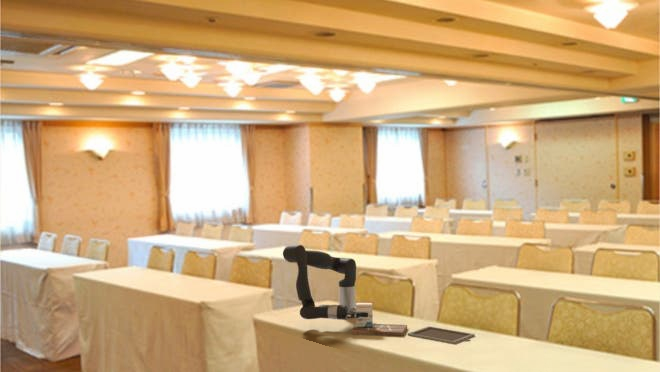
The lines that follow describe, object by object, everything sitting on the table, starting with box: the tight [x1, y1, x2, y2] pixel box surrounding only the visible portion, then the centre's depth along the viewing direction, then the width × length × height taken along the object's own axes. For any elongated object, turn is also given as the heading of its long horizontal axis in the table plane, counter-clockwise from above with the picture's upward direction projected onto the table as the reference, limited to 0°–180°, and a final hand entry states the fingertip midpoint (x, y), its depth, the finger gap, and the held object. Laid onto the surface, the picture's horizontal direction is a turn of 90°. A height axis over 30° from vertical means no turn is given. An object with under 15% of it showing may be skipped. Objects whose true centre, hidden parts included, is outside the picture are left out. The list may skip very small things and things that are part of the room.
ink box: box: [355, 302, 374, 327], centre depth 344 cm, size 9×5×12 cm, turn 84°
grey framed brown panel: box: [407, 326, 476, 345], centre depth 330 cm, size 19×2×30 cm
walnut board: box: [351, 323, 408, 337], centre depth 342 cm, size 16×26×2 cm, turn 75°
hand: (369, 313), depth 343 cm, fingers closed on ink box, 5 cm apart
